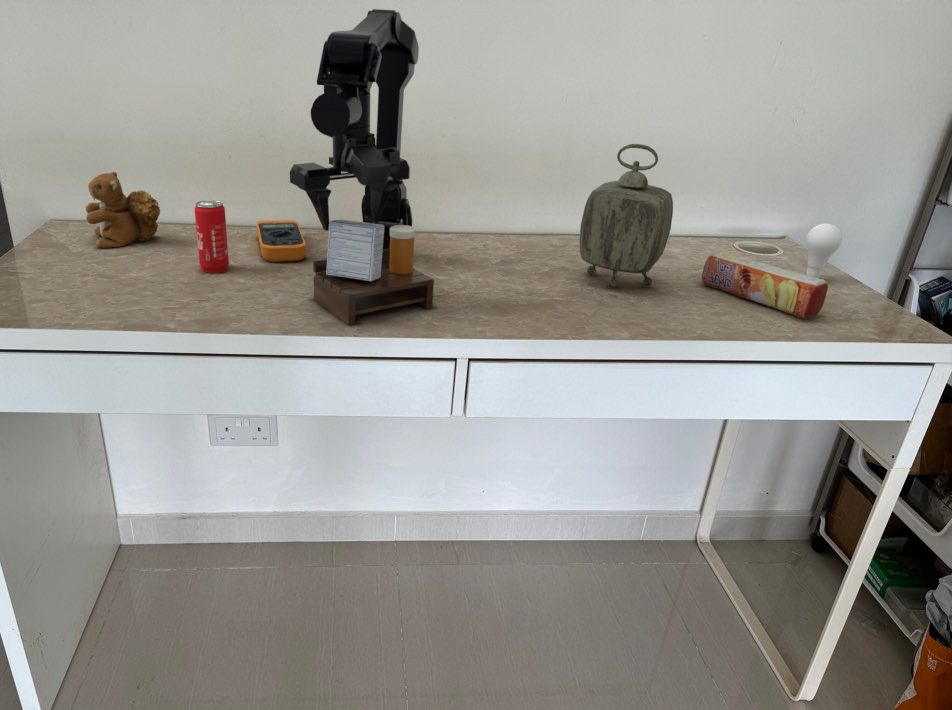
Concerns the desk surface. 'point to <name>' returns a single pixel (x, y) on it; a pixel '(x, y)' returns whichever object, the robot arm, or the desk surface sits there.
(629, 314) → the desk surface
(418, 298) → the rack
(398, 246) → the pill bottle
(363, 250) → the medicine box
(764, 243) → the desk surface
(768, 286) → the snack package
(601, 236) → the tabletop clock
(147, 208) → the stuffed squirrel
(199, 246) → the red soda can
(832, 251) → the lightbulb
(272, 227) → the multimeter
